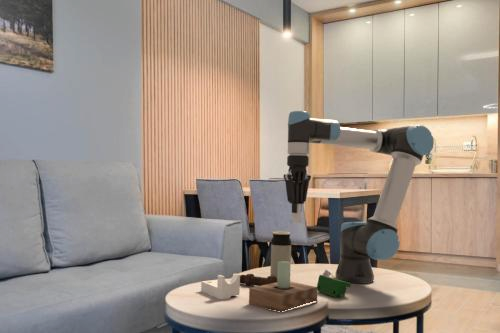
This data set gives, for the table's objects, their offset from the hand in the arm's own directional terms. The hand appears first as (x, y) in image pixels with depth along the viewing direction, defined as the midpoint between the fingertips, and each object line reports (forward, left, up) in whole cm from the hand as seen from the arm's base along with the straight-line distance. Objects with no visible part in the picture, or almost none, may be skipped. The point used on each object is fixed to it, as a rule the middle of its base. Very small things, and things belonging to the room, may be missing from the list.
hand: (296, 222), depth 169 cm
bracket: (+22, -15, -25) cm, 36 cm away
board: (+15, +8, -24) cm, 30 cm away
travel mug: (-16, -20, -25) cm, 36 cm away
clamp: (-9, +11, -25) cm, 28 cm away
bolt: (+4, -14, -25) cm, 29 cm away
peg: (+15, +8, -23) cm, 29 cm away
